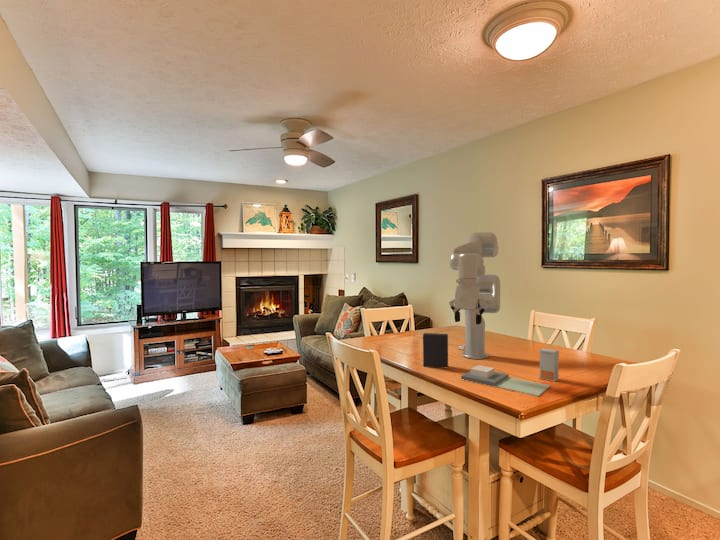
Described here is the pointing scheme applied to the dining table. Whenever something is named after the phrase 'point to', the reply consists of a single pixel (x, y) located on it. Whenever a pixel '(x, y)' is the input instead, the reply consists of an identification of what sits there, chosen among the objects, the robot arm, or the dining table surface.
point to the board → (490, 381)
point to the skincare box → (549, 364)
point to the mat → (523, 386)
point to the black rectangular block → (435, 350)
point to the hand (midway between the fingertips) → (467, 322)
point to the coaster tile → (482, 371)
